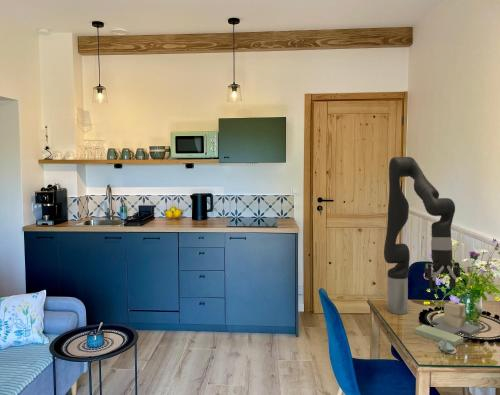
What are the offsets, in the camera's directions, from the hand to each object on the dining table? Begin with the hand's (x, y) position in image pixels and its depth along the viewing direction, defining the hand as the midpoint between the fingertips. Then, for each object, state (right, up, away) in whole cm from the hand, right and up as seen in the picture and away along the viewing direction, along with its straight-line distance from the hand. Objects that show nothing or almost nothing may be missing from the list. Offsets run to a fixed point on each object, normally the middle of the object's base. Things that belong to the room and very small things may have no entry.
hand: (442, 289), depth 159 cm
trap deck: (+7, -21, +11) cm, 25 cm away
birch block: (+12, -19, +14) cm, 26 cm away
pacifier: (-1, -23, -5) cm, 23 cm away
